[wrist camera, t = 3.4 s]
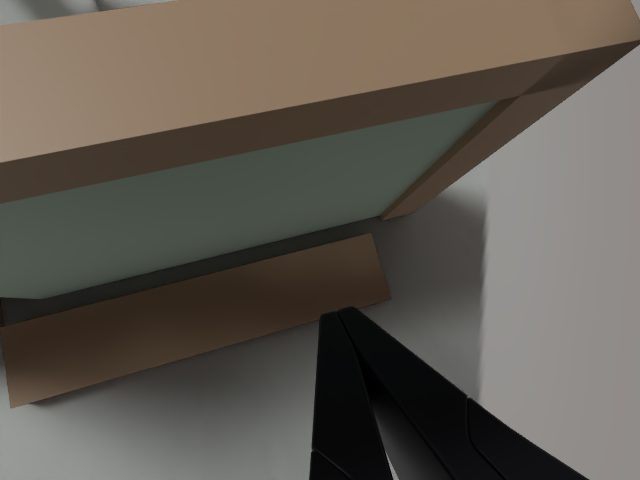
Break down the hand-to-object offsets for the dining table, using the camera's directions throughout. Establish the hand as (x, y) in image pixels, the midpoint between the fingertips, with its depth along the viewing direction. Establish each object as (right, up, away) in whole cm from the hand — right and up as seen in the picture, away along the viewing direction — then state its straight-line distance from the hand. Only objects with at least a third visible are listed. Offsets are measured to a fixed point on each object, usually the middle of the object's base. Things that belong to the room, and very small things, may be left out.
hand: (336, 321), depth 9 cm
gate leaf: (-4, +2, +7) cm, 8 cm away
